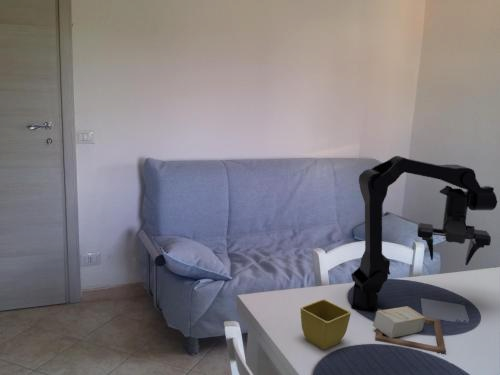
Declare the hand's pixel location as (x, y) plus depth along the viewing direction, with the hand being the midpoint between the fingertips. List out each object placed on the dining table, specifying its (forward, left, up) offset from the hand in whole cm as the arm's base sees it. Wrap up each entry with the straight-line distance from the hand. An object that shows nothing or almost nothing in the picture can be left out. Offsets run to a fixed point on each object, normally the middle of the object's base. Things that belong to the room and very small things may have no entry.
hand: (448, 262), depth 128 cm
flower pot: (-30, -35, -13) cm, 48 cm away
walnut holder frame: (-10, -22, -13) cm, 27 cm away
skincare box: (-9, -17, -11) cm, 22 cm away
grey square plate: (0, -6, -13) cm, 14 cm away
